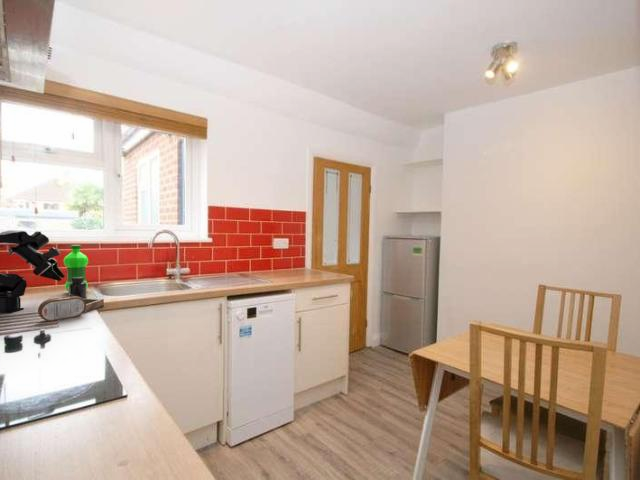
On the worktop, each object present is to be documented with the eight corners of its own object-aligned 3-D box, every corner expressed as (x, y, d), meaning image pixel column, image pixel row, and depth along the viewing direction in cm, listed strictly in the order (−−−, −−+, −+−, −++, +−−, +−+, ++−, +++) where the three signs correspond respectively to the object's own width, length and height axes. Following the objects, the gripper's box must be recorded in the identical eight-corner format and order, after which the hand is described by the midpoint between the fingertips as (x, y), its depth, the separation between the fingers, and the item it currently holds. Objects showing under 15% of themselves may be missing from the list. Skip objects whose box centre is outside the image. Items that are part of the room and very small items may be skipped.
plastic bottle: (86, 293, 172) (85, 245, 171) (61, 295, 168) (60, 246, 167) (90, 290, 181) (90, 244, 180) (67, 291, 177) (66, 244, 176)
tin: (84, 314, 137) (84, 294, 137) (87, 315, 135) (87, 295, 135) (37, 322, 126) (37, 300, 125) (39, 323, 124) (39, 301, 123)
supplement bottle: (65, 304, 151) (65, 278, 150) (72, 301, 157) (72, 276, 157) (83, 304, 153) (83, 278, 152) (89, 300, 159) (89, 275, 159)
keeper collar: (82, 313, 138) (82, 306, 138) (54, 312, 139) (54, 305, 139) (103, 305, 151) (103, 299, 150) (77, 304, 151) (77, 298, 151)
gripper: (42, 243, 140) (75, 268, 146) (51, 240, 156) (80, 263, 163) (18, 262, 137) (52, 287, 143) (29, 258, 153) (60, 280, 159)
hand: (62, 278), depth 152 cm, fingers open, 9 cm apart
